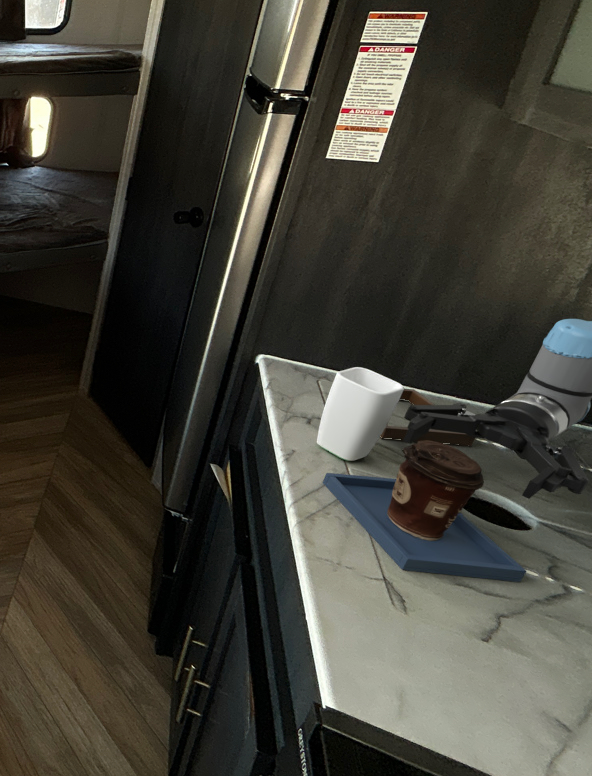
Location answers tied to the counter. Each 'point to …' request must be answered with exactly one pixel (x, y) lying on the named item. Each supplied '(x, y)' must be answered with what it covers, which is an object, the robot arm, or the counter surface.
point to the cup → (357, 412)
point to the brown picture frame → (433, 434)
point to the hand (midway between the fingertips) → (465, 461)
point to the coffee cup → (432, 488)
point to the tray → (443, 556)
